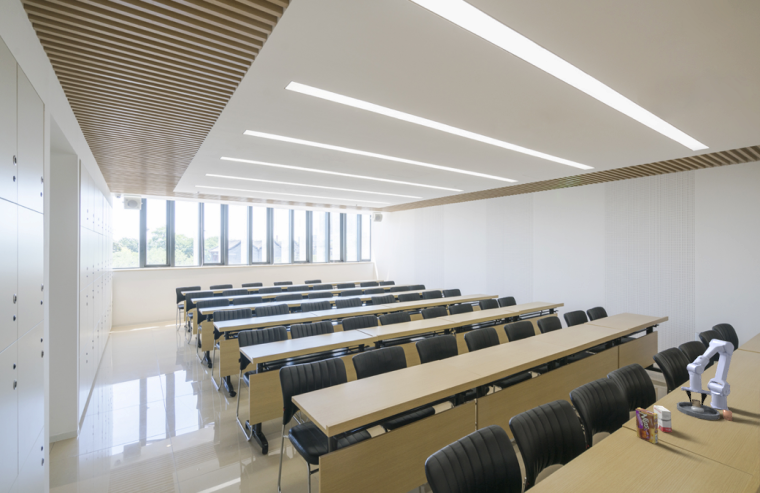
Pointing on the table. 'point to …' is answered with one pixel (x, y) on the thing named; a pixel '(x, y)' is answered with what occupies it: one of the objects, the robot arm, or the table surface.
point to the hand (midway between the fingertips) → (696, 403)
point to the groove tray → (698, 411)
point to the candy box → (647, 425)
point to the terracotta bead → (727, 414)
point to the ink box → (663, 418)
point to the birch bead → (696, 403)
